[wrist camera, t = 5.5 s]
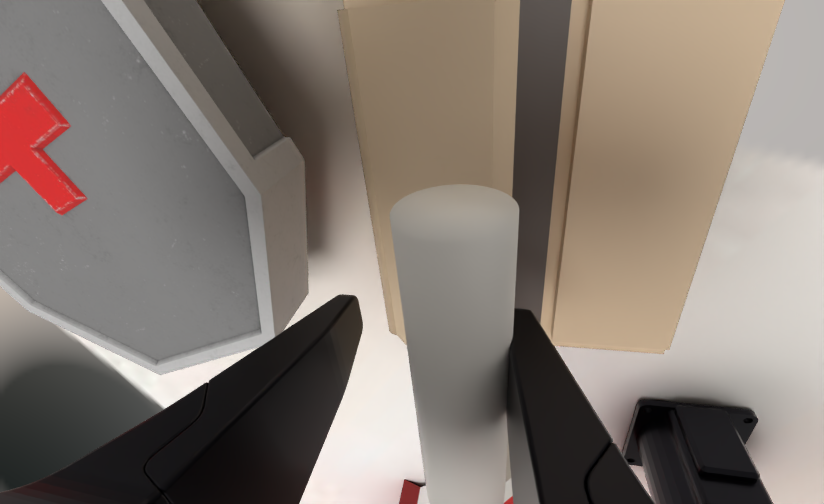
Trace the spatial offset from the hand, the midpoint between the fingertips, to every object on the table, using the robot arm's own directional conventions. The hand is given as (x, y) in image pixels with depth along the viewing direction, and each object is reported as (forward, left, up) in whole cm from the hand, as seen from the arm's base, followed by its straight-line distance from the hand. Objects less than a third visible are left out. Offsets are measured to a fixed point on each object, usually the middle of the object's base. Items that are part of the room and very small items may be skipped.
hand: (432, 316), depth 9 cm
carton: (-1, -2, -13) cm, 13 cm away
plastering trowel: (-1, 0, -5) cm, 5 cm away
